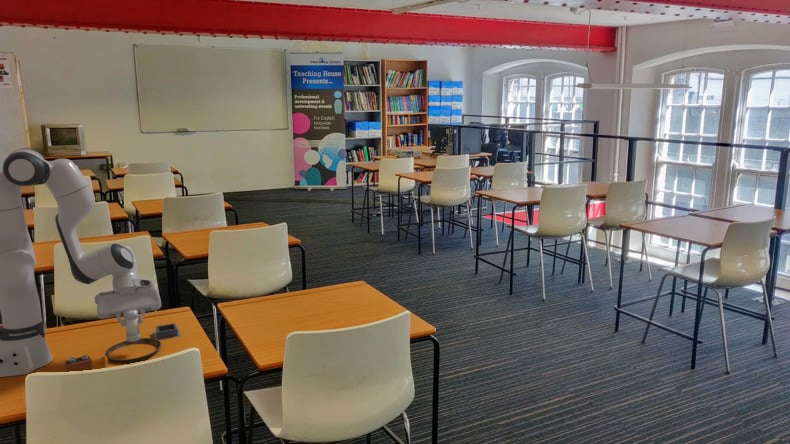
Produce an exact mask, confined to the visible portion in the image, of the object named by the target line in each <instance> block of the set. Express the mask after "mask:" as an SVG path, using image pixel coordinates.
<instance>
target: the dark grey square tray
mask: <svg viewBox="0 0 790 444" xmlns="http://www.w3.org/2000/svg"><path fill="white" fill-rule="evenodd" d="M152 334H153V339H156V340H158V341H162V340H166V339H174V338H179V337H182V334H181V332H180V329H179V328H178V327H177V325H176V323H175V322H174V323H167V324H162V325H156V326H155V331H153V332H152Z"/></svg>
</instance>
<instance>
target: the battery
mask: <svg viewBox="0 0 790 444" xmlns="http://www.w3.org/2000/svg"><path fill="white" fill-rule="evenodd" d="M64 367H65V373H66V372H69V371H83V370H92V369H93V370H94V366H93V360H92V358H91V356H90V355H87V354H85V355H82V356H80V357H70V358H68V359H66V360H65V361H64Z"/></svg>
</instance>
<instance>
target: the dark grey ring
mask: <svg viewBox="0 0 790 444" xmlns="http://www.w3.org/2000/svg"><path fill="white" fill-rule="evenodd" d="M137 344H140V345H141V344H149V345H153V346H156V347H157V349H156V350H154V351H151V352H150V353H148V354H145V355H142V356H138V357H135V358H134V357H133V358H125V359H119V358H118V359H117V358H111V357H110V354H111V353H113V352H114V351H116V350H118V349H120V348H123V347H127V346H132V345H137ZM161 347H162V342H161V340H156V339H155V338H148V337H143V338H142V337H141V339H140V340H138V341H134V342H128V341H127V340H125V341H122V342H118V343H116V344H113V345H112V346H110V347H109V348H108V349H107V350H106V351H105V357H106V358H107V359H108V360H109V361H111V362H115V363H119V364H121V365H123V366H124V364H127V365H131V364H130V363H135V362H140V361H143V362H145V360H146V361H148V360H149V359H150V357H153V356H154V355H157V353H158V352H159V351H160V349H161ZM140 363H141V362H140ZM135 364H136V363H135Z"/></svg>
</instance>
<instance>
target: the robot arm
mask: <svg viewBox="0 0 790 444" xmlns="http://www.w3.org/2000/svg"><path fill="white" fill-rule="evenodd" d="M40 185H45V186H46V187H47V189H49V191H50V193H51V194H52V196H53V198H54V200H55V202H56V204H57V214H56V215H55V217H54V219H55V220H54V221H55V225H56V228H57V231H58V232H57V233H58V235H59V237H60V239H61V243H62V246H63V248H64V251H65V254H66V257H67V259H68V263H69V267H70V271H71V274H72V275H71V276H73V279H75V280H76V281H77V282H79V283H81V284H84V285H91V284H93V283H94V282H97V281H99V280H100V279H102V278H105V277H108V276H112V282H111V283H112V290H110V291H104V292H99V293H98V294H96V295H95V297H94V303H95V304H96V313H97V318H99V319H101V320H102V319H109V318H114V317H116V319H115V320H117V321H118V322H119V323H120V327H121V328H122V327H126V323H125V319H122V316H124V314H123V312H124V311H128V310H134V309H136V310H138V314H139V313H140V316H138V324H140V325H141V324H143V322H144V319H143V318H145V317H144V316H145V315H146V312H150V311H151V312H152V311H157V310H160V309H161V307H162V300H161V296H160V294H159V290H158V289H157V288H156V287H155V283H154V281H153V280H150V279H143V278H140V276H139V275H138V274H139V273H138V271H139V267H138V261H137V258H136V255H135V253H134V250H133V249H132V248H131V247H129V246H127V245H121V244H119V243H112V244H108V245H105V246H103V247H100V248H99V249H96V250H93V251H90V252H87V253H86V252H84V251H83V249H82V246H81V245H82V244H81V242H80V240H79V237H78V233H77V226H78V224H79V223H80V222H81V221H83V219H84V218H85V217H87V215H89V214H90V212H92V210H93V209H94V206H95V203H96V202H95V201H96V196H95V194H94V191H93V190H92V187H91V185H90V184H89V182H88V180H87V179H86V177H85V176H84V174H83V173H82V171H81V170H80V169H79V168H78V166H77V165H76V164H75V163H74V162H73V161H72V160H71V159H68V158H57V159H54V160H49V161H48V160H46V158H45V156H44V155H43V154H42V153H41V152H40V151H38V150H37V149H34V148H29V147H28V148H27V147H24V148H19V149H16V150H14V151H12V152H11V153H9V154H8V156H7V157H6V158H5V159H4V161H3V163H2V171H0V315H1V322H2V323H0V378H3V377H13V376H21V375H27V374H30V373H32V372H33V371H35V370H38V369H40V368H43V367H44V366H47V365H48V364H50V363H52V361H53V359H54V357H53V355H52V353H51V351H50V349H49V345H48V342H47V339H46V334H47V333H46V326H45V325H46V324H45V321H44V319H43V318H42V307H41V303H40V296H39V292H38V288H37V284H36V280H35V279H36V278H35V269H36V265H37V258H36V255H35V250H34V249H35V248H34V246H33V242H32V239H31V234H30V233H29V229H28V223H27V220H26V219H27V218H26V213H25V208H24V203H23V199H22V189H23V187H31V186H40Z"/></svg>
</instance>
